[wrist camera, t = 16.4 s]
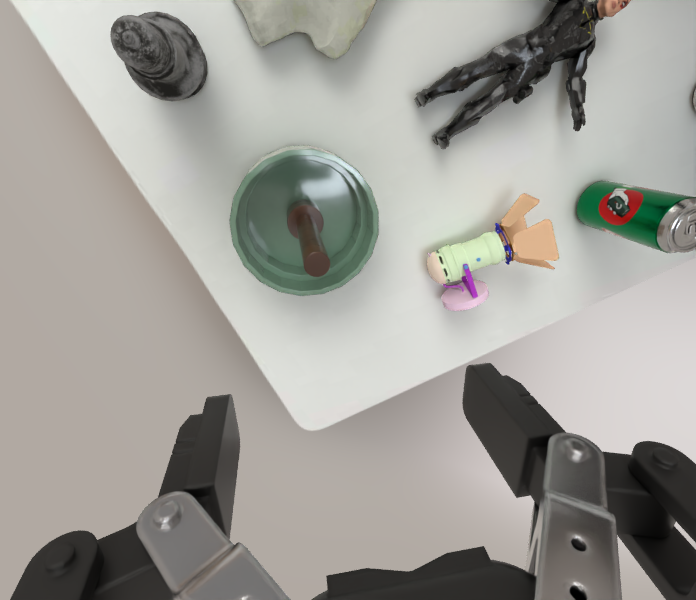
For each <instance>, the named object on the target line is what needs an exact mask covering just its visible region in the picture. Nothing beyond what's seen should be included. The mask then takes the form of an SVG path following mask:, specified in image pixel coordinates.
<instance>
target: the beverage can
mask: <svg viewBox="0 0 696 600" xmlns="http://www.w3.org/2000/svg"><path fill="white" fill-rule="evenodd" d="M693 104H694V107H695V109H696V88H695V91H694V95H693Z"/></svg>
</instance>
